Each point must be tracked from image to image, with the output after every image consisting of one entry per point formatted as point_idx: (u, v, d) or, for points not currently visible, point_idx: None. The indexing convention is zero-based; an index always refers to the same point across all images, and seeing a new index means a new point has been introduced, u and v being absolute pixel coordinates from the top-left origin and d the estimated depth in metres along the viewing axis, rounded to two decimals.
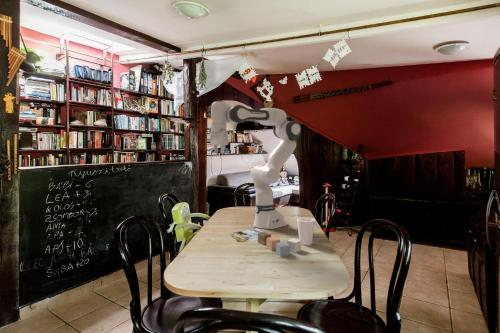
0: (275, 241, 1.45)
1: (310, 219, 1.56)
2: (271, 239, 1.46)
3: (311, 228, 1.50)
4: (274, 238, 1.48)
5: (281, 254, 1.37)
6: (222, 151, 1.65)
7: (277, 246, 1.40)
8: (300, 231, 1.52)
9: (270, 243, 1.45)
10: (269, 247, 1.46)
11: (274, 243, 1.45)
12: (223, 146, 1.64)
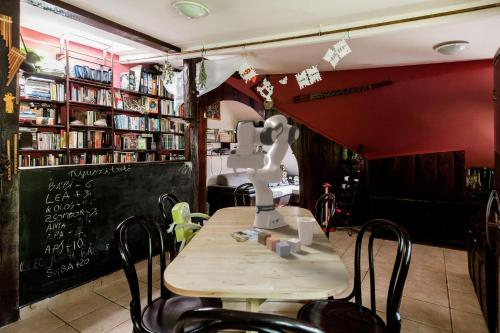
0: (275, 241, 1.45)
1: (310, 219, 1.56)
2: (271, 239, 1.46)
3: (311, 228, 1.50)
4: (274, 238, 1.48)
5: (281, 254, 1.37)
6: (255, 175, 1.56)
7: (277, 246, 1.40)
8: (300, 231, 1.52)
9: (270, 243, 1.45)
10: (269, 247, 1.46)
11: (274, 243, 1.45)
12: (257, 170, 1.55)
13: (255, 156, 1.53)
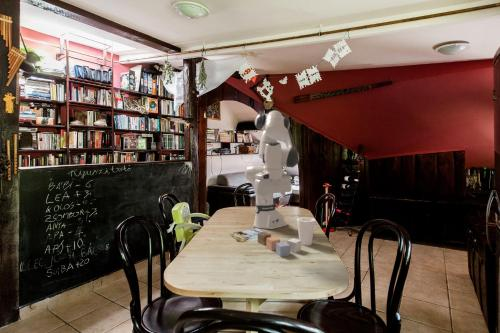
0: (275, 241, 1.45)
1: (310, 219, 1.56)
2: (271, 239, 1.46)
3: (311, 228, 1.50)
4: (274, 238, 1.48)
5: (281, 254, 1.37)
6: None
7: (277, 246, 1.40)
8: (300, 231, 1.52)
9: (270, 243, 1.45)
10: (269, 247, 1.46)
11: (274, 243, 1.45)
12: None
13: (285, 179, 1.46)
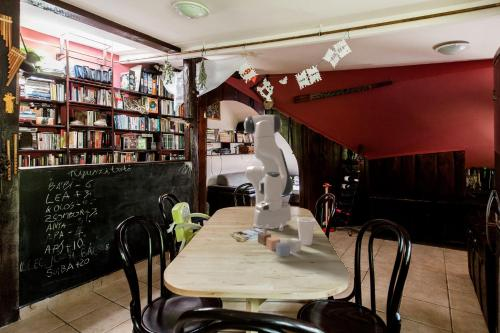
0: (275, 241, 1.45)
1: (310, 219, 1.56)
2: (271, 239, 1.46)
3: (311, 228, 1.50)
4: (274, 238, 1.48)
5: (281, 254, 1.37)
6: None
7: (277, 246, 1.40)
8: (300, 231, 1.52)
9: (270, 243, 1.45)
10: (269, 247, 1.46)
11: (274, 243, 1.45)
12: None
13: (284, 209, 1.47)
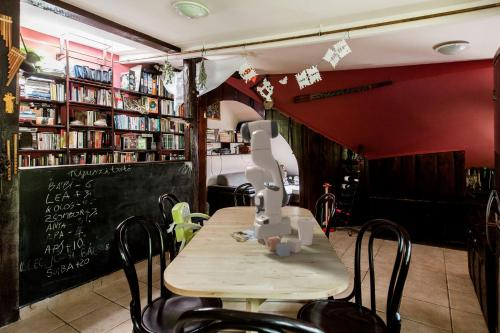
0: (275, 241, 1.45)
1: (310, 219, 1.56)
2: (271, 239, 1.46)
3: (311, 228, 1.50)
4: (274, 238, 1.48)
5: (281, 254, 1.37)
6: None
7: (277, 246, 1.40)
8: (300, 231, 1.52)
9: (270, 243, 1.45)
10: (269, 247, 1.46)
11: (274, 243, 1.45)
12: None
13: (284, 222, 1.48)
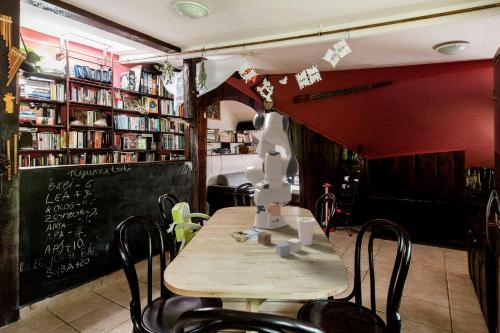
0: (275, 207, 1.44)
1: (310, 219, 1.56)
2: (271, 205, 1.45)
3: (311, 228, 1.50)
4: (274, 204, 1.47)
5: (281, 254, 1.37)
6: None
7: (277, 246, 1.40)
8: (300, 231, 1.52)
9: (270, 209, 1.44)
10: (269, 213, 1.45)
11: (274, 209, 1.44)
12: None
13: (285, 188, 1.47)
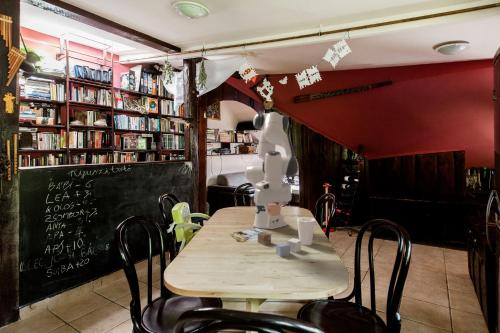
0: (275, 207, 1.44)
1: (310, 219, 1.56)
2: (271, 205, 1.45)
3: (311, 228, 1.50)
4: (274, 204, 1.47)
5: (281, 254, 1.37)
6: None
7: (277, 246, 1.40)
8: (300, 231, 1.52)
9: (270, 209, 1.44)
10: (269, 213, 1.45)
11: (274, 209, 1.44)
12: None
13: (285, 188, 1.47)
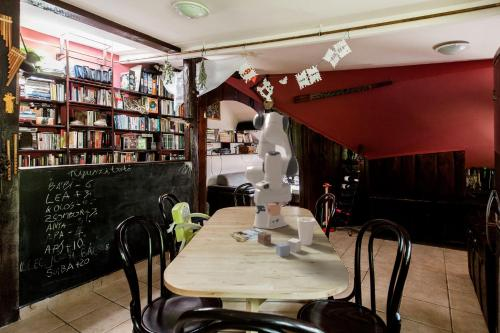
0: (275, 207, 1.44)
1: (310, 219, 1.56)
2: (271, 205, 1.45)
3: (311, 228, 1.50)
4: (274, 204, 1.47)
5: (281, 254, 1.37)
6: None
7: (277, 246, 1.40)
8: (300, 231, 1.52)
9: (270, 209, 1.44)
10: (269, 213, 1.45)
11: (274, 209, 1.44)
12: None
13: (285, 188, 1.47)
